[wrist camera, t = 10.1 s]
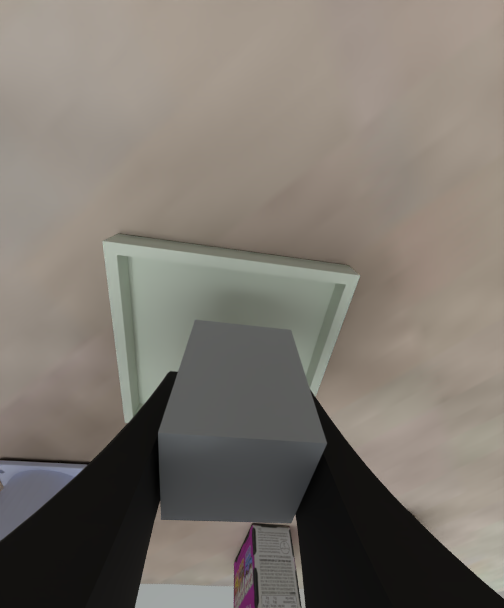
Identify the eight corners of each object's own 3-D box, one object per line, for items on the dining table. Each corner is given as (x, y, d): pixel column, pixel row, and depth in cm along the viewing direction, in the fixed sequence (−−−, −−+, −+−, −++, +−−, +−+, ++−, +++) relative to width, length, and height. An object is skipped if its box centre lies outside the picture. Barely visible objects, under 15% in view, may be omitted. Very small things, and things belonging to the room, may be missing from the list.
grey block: (273, 397, 12) (291, 523, 8) (191, 390, 12) (161, 519, 7) (291, 330, 10) (327, 443, 6) (195, 319, 10) (158, 433, 6)
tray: (297, 415, 20) (301, 434, 19) (134, 403, 19) (125, 422, 18) (348, 265, 15) (360, 275, 13) (118, 233, 13) (102, 241, 12)
